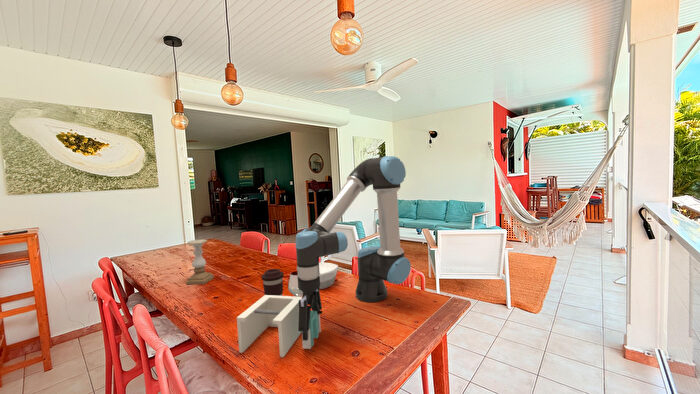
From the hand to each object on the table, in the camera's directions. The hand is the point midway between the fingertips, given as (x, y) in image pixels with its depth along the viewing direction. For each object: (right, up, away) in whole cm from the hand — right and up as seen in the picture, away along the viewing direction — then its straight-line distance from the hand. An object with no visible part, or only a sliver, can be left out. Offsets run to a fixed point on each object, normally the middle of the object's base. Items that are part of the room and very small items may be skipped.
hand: (312, 339), depth 97 cm
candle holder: (-75, 0, +67) cm, 100 cm away
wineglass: (-8, 0, +19) cm, 21 cm away
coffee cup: (-22, 0, +33) cm, 40 cm away
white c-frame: (-14, -1, +2) cm, 14 cm away
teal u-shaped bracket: (0, 0, 0) cm, 0 cm away
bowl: (-2, +2, +53) cm, 53 cm away
